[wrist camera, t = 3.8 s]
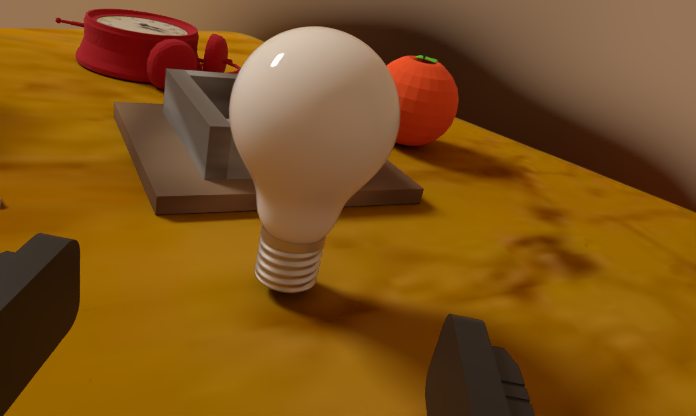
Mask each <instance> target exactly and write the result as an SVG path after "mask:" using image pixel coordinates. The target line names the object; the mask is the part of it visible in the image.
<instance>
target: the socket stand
mask: <svg viewBox="0 0 696 416" xmlns="http://www.w3.org/2000/svg"><path fill="white" fill-rule="evenodd" d="M237 75H238V74H231V73H218V72H205V71H192V70H179V69H166V78H165V92H164V104H147V103H126V102H114V118H115V120H116V123H117V125H118V127H119V130H120V132H121V134H122V137H123V139H124V141H125V144H126V146H127V149H128V151H129V153H130V156H131V158H132V160H133V163H134V165H135V167H136V170H137V172H138V175H139V177H140V179H141V182H142V184H143V186H144V189H145V191H146V193H147V196H148V198H149V200H150V203H151V205H152V208H153V210H154V212H155V215H159V214H183V213H206V212H229V211H252V210H257V201H256V190H255V185H254V182H253V180H252V178H251V176H250V174H249V172H248V170H247V168H246V166H245V165H244V163H243V161H242V159H241V157H240V155H239V153H238V151H237V148H236V146H235V143H234V140H233V137H232V133H231V128H230V121H229V104H230V97H231V92H232V88H233V85H234V82H235V80H236V77H237ZM423 190H424V189H423V188H422V187H421V186H419V185H418V184H417V183H416V182H414V181H413V180H412V179H411V178H409V177H408V176H407V175H406V174H404V173H403V172H402V171H401V170H399V169H398V168H397V167H396V166H394V165H393V164H392V163H391V162H389V161H388V160H387V161H386V162H385V164H384V165H383V166H382V168H381V169H380V170H379V171H378V173H377V174H376V175H375V176H374V177H373V178H372V179H371V180H370V181H369V182H368V183H366V184H365V185H364V186H363V187H362V188H361V189H360V190H358V191H357V192H356V193H355V194H354V195H353V196H352V197H351V198H350V199H349V200H348V201H347V202H346V204H345V205H344V207H345V206H368V205H391V204H414V203H420V200H421V197H422V193H423Z"/></svg>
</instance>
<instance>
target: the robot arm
mask: <svg viewBox="0 0 696 416" xmlns="http://www.w3.org/2000/svg"><path fill="white" fill-rule="evenodd" d="M79 302H80V247H79V243H78V241H76V240H73V239H68V238H63V237H58V236H53V235H48V234H43V233H38V234H36V235H35V236H34V237H32V238H31V239H30V240H29V241H28V242H27V243H26V244H24V245H23V246H22V247H21V248H20V249H19V250H18V251H16V252H10V251H5V252H3V253H0V416H3V415H4V414H5V413H6V411H7V410H8V409H9V407H10V406H11V405H12V404H13V402H14V401H15V400H16V398H17V397H18V396H19V395H20V393H21V392H22V391H23V389H24V388H25V387H26V386H27V384H28V383H29V382H30V380H31V379H32V378H33V377H34V375H35V374H36V373H37V371H38V370H39V369H40V368H41V366H42V365H43V364H44V362H45V361H46V360H47V359H48V357H49V356H50V355H51V353H52V352H53V351H54V349H55V348H56V347H57V346H58V344H59V343H60V342H61V340H62V339H63V338H64V337H65V335H66V334H67V333H68V331H69V330H70V329H71V327H72V325H73V323H74V321H75V319H76V316H77V313H78V308H79ZM524 386H525V384H524V381H523V378H522V375H521V372H520V369H519V366H518V365H517V364H516V362H515V361H514V360H513V359H512V357H511V356H510V355H509V354H508V353H507V351H506V350H505V349H504V348H501V347H496V346H491V344H490V340H489V336H488V333H487V329H486V326H485V323H484V321H482V320H478V319H473V318H468V317H463V316H457V315H452V314H449V315H448V316H447V317H446V319H445V322H444V324H443V327H442V330H441V333H440V336H439V339H438V342H437V345H436V348H435V351H434V354H433V357H432V360H431V363H430V366H429V369H428V374H427V379H426V387H425V399H426V409H427V416H535V414H534V411H533V408H532V405H531V404H530V403H529V402H530V399H529V396H528V393H527V390H526V388H524Z"/></svg>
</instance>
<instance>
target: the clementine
mask: <svg viewBox="0 0 696 416" xmlns="http://www.w3.org/2000/svg"><path fill="white" fill-rule="evenodd" d="M387 68H388V70H389V72H390V73H391V75H392V78H393V80H394V82H395V85H396V88H397V92H398V96H399V102H400V125H399V131H398V136H397V139H396V143H398V144H401V145H406V146H420V145H424V144H427V143H430V142H432V141H434V140H436V139H437V138H439V137H440V136H441V135H443V134H444V133H445V132H446V131H447V129H448V128H449V127H450V126H451V124H452V122H453V120H454V117H455V115H456V113H457V107H458V101H459V100H458V92H457V87H456V84H455V82H454V80H453V78H452V76H451V75H450V74H449V72H448V71H447V70H446V68H445V67H444V66H443V65H442V64H440V63H438V60H436V59H432V58H428V57H426V55H423V56H421V55H420V56H405V57H401V58H399V59H397V60H395V61H393V62H391V63H390V64H388V65H387Z"/></svg>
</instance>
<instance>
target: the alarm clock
mask: <svg viewBox="0 0 696 416" xmlns="http://www.w3.org/2000/svg"><path fill="white" fill-rule="evenodd" d="M56 22H57V23H60V22H62V23H67V24H71V25H76V26H81V27H84V38H83V40H82V43H81V45H80V47H79V48H78V50H77V51H76V60H77V62H78V63H79V64H81V65H82V66H84V67H86V68H88V69H90V70H92V71H95V72H97V73H100V74H103V75H107V76H111V77H115V78H120V79H125V80H131V81H138V82H148V83H152V84H153V85H154V86H156V87H157V88H159V89H161V90H165V78H166V69H179V70H192V71H202V67H203V71H205V72H218V73H224V71H225V68H226V64H228V65H230V66H233V67H235V68H237V69H238V70H236V71H234V72H229V73H231V74H237V73H239V71H240V69H241V68H240V67H239V66H237V65H236V64H233V63H232V60H230V59H227V57H228V48H227V43H226V41H225V39H224V38H223V37H222V36H219V35H217V34H212V35H211V36H210V38H209V40H208V42H207V46H206V49H205V55H204V59H200V58H198V55H197V44H198V38H199V35H198V31H197V29H196V28H195V27H194V26H192V25H190V24H188V23H186V22H183V21H180V20H177V19H174V18H170V17H166V16H162V15H157V14H152V13H146V12H139V11H133V10H123V9H95V10H90V11H88V12H87V13H86V15H85V18H84V23H79V22H73V21H66V20H61V19H60V18H56ZM200 62H201V64H200ZM202 63H203V64H202Z"/></svg>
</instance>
